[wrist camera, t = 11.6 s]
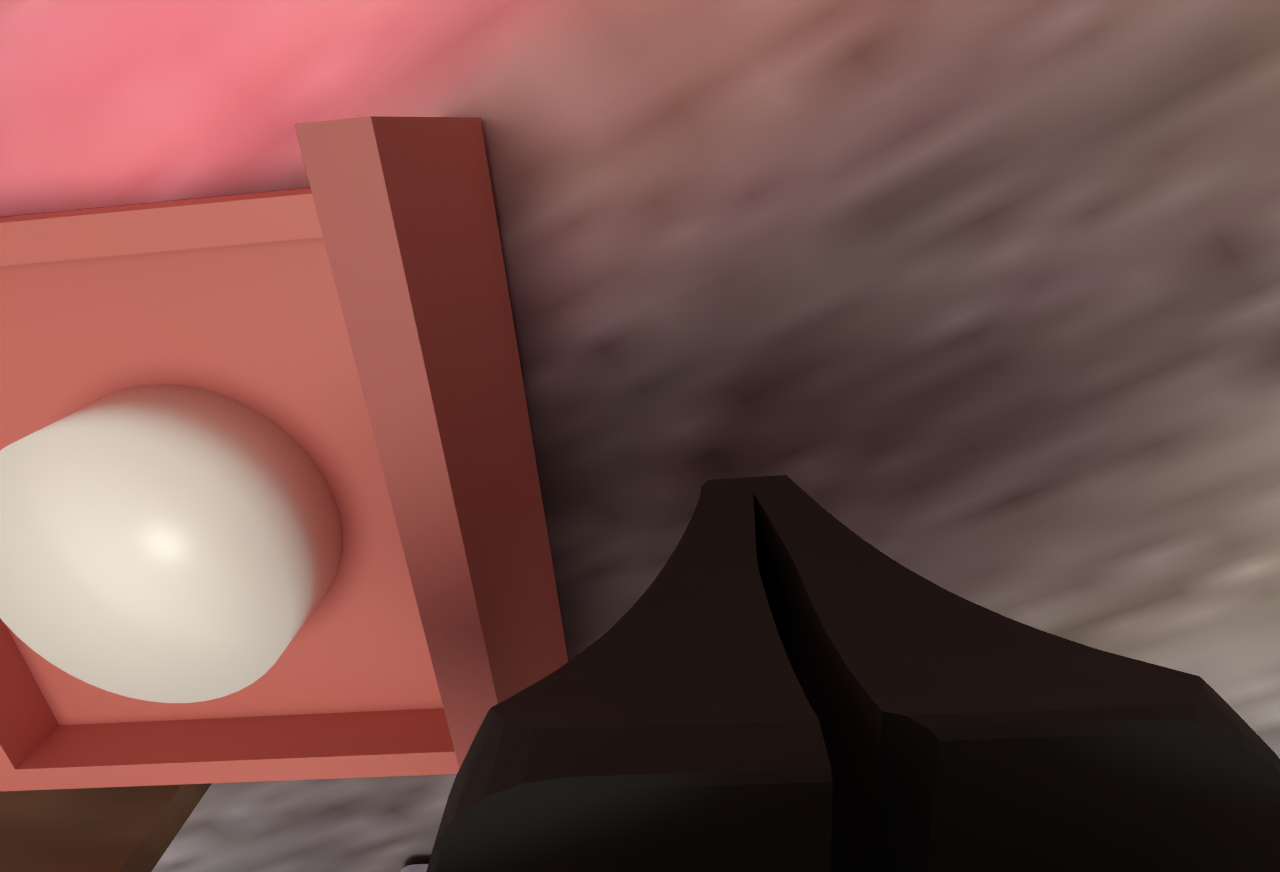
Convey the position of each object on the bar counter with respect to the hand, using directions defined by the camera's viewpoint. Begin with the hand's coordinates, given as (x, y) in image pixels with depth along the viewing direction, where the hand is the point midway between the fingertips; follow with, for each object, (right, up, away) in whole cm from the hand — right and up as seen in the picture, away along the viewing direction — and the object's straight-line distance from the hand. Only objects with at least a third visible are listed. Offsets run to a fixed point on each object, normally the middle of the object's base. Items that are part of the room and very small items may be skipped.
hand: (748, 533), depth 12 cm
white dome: (-10, 0, +2) cm, 10 cm away
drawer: (-10, 0, +3) cm, 11 cm away
